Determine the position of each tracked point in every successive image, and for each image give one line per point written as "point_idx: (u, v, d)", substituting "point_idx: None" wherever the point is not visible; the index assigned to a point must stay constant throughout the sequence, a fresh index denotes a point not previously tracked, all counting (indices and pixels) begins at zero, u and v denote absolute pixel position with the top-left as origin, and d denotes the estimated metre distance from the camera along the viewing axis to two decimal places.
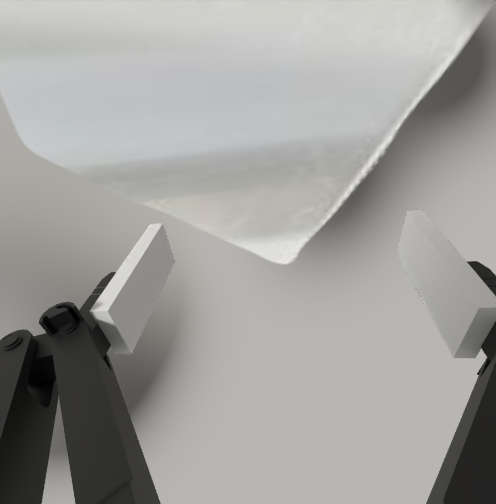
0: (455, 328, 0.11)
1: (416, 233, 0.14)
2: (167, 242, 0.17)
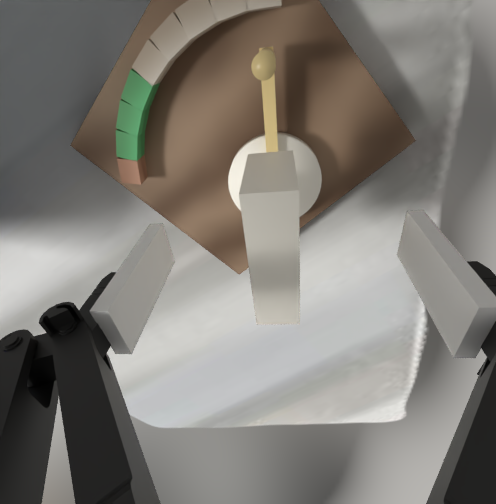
0: (455, 328, 0.11)
1: (416, 233, 0.14)
2: (167, 242, 0.17)
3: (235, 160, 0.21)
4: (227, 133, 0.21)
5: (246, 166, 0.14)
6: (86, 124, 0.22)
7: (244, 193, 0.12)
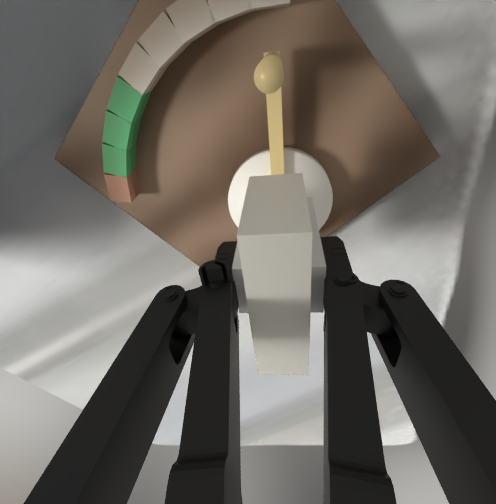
0: None
1: None
2: None
3: (236, 177, 0.19)
4: (227, 147, 0.19)
5: (247, 194, 0.12)
6: (71, 136, 0.19)
7: (243, 234, 0.09)
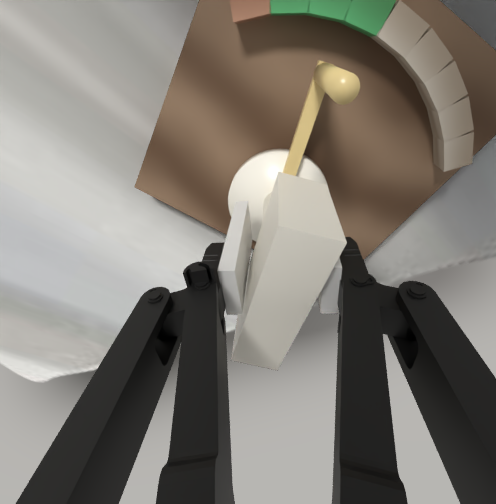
0: None
1: None
2: (249, 219, 0.18)
3: (247, 166, 0.19)
4: (317, 135, 0.18)
5: (280, 188, 0.12)
6: None
7: (284, 225, 0.10)
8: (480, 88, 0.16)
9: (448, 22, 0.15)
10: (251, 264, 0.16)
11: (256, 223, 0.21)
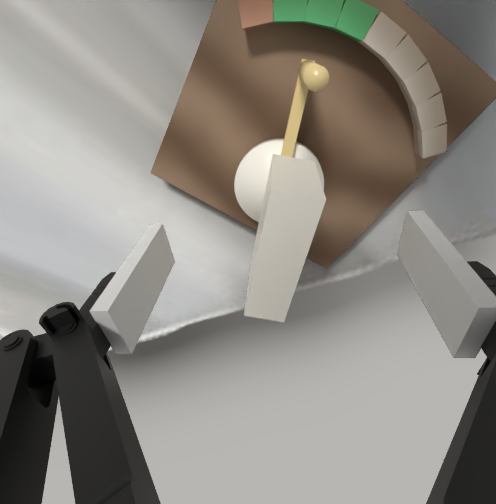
0: (455, 328, 0.11)
1: (416, 233, 0.14)
2: (167, 242, 0.17)
3: (249, 155, 0.22)
4: (313, 127, 0.21)
5: (273, 165, 0.15)
6: None
7: (275, 189, 0.12)
8: (452, 86, 0.19)
9: (423, 30, 0.18)
10: (256, 236, 0.18)
11: (261, 207, 0.24)
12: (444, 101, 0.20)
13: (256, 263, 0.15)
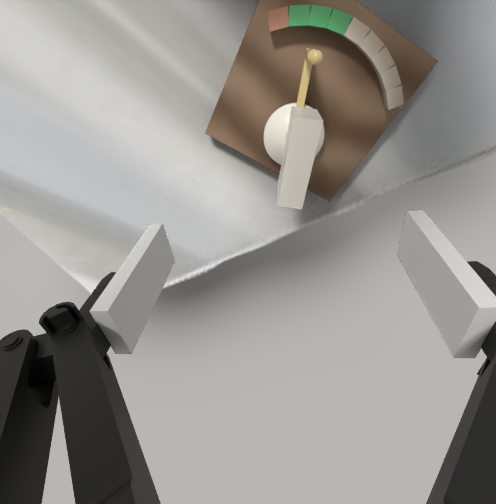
0: (455, 328, 0.11)
1: (416, 233, 0.14)
2: (167, 242, 0.17)
3: (273, 115, 0.33)
4: (316, 93, 0.32)
5: (293, 109, 0.26)
6: None
7: (296, 117, 0.23)
8: (404, 61, 0.30)
9: (382, 26, 0.28)
10: (282, 161, 0.29)
11: (282, 152, 0.35)
12: (400, 71, 0.30)
13: (285, 166, 0.26)
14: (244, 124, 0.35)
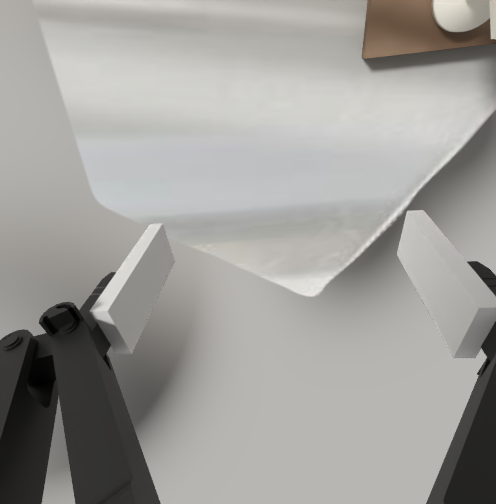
0: (455, 328, 0.11)
1: (416, 233, 0.14)
2: (167, 242, 0.17)
3: None
4: None
5: None
6: None
7: None
8: None
9: None
10: None
11: (463, 16, 0.30)
12: None
13: None
14: (405, 19, 0.32)
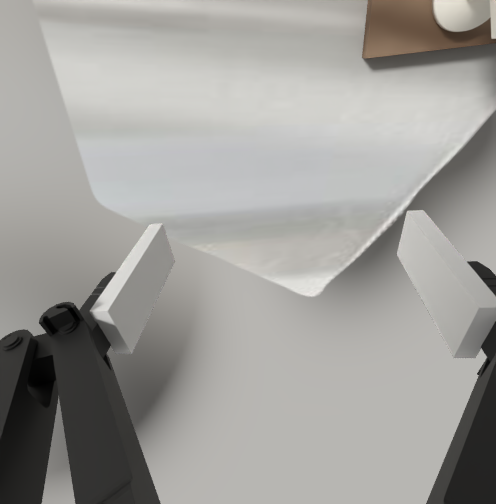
0: (455, 328, 0.11)
1: (416, 233, 0.14)
2: (167, 242, 0.17)
3: None
4: None
5: None
6: None
7: None
8: None
9: None
10: None
11: (464, 15, 0.30)
12: None
13: None
14: (406, 19, 0.32)
